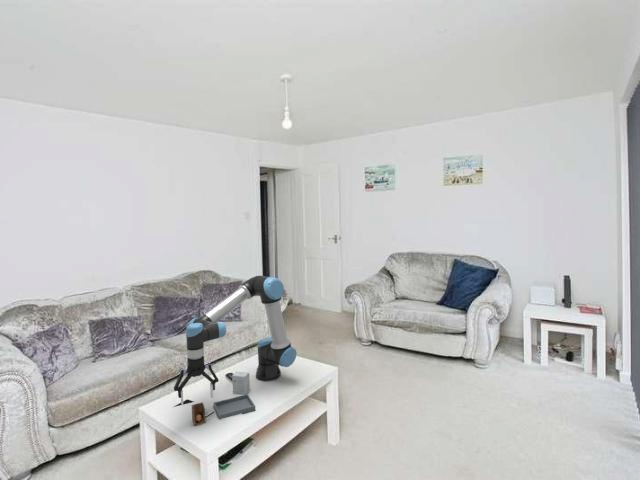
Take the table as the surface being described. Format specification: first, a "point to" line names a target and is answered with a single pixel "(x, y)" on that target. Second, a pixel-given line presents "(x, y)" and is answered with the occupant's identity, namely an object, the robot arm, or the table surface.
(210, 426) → the table surface
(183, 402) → the smartphone
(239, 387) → the small box
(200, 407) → the brown wooden bin
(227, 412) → the tray
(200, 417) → the ball
